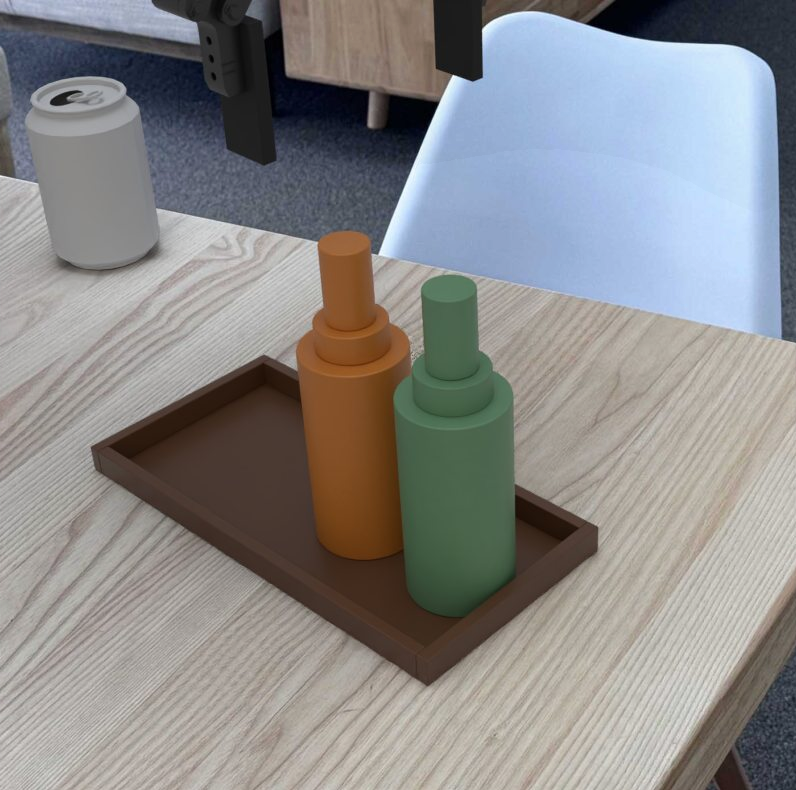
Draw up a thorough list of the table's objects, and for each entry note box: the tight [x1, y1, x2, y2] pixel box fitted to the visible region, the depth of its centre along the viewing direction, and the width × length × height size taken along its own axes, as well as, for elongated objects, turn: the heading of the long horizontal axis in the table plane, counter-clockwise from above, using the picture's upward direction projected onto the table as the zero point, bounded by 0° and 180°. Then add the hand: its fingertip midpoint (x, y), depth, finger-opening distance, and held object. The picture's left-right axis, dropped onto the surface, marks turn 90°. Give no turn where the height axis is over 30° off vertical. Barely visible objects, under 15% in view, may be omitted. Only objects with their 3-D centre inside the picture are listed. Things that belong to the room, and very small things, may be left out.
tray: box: [89, 354, 599, 687], centre depth 74 cm, size 25×12×2 cm, turn 49°
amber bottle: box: [295, 230, 412, 560], centre depth 68 cm, size 5×5×16 cm
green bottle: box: [393, 274, 516, 618], centre depth 64 cm, size 5×5×16 cm
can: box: [24, 75, 161, 271], centre depth 97 cm, size 8×8×12 cm
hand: (361, 112), depth 68 cm, fingers open, 13 cm apart
